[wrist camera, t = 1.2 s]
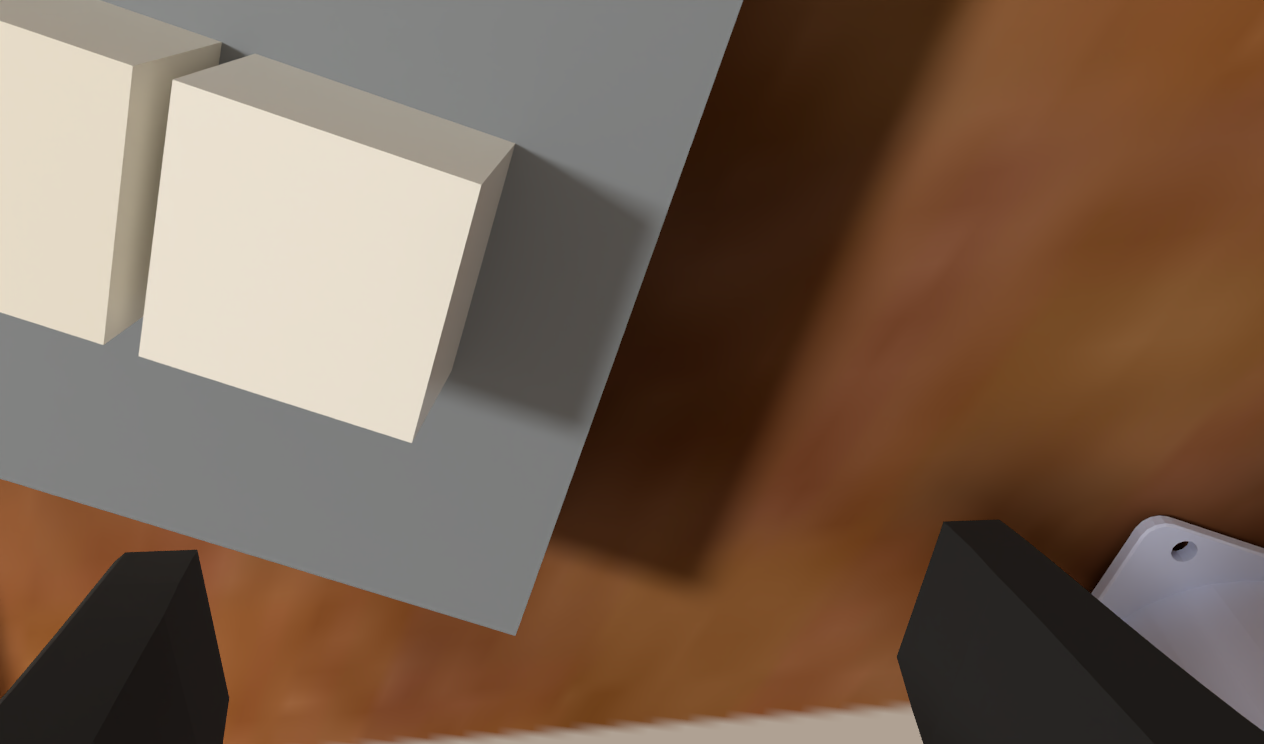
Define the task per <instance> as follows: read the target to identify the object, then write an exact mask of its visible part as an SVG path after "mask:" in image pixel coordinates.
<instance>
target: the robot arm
mask: <svg viewBox="0 0 1264 744" xmlns="http://www.w3.org/2000/svg"><path fill="white" fill-rule="evenodd" d="M1183 541H1189V542H1188V544H1187V545H1186V546H1185V547H1184V548H1183V549H1181V550H1177V551H1172V549H1173V547H1174V546H1175V545H1177V544H1178V543H1180V542H1183ZM897 659H898V663H899V666H900V669H901V673H902V676H903V680H904V683H905V686H906V690H907V693H908V697H909V700H910V704H911V707H912V710H913V713H914V716H915V719H916V722H917V725H918V728H919V732H920V734H921V737H922V741H923V744H1264V548H1261V547H1258V546H1255V545H1252V544H1249V543H1246V542H1243V541H1240V540H1237V539H1234V538H1231V537H1228V536H1225V535H1222V534H1219V533H1216V532H1213V531H1210V530H1207V529H1204V528H1201V527H1198V526H1195V525H1192V524H1189V523H1186V522H1183V521H1180V520H1177V519H1174V518H1171V517H1167V516H1160V515H1159V516H1154V517H1149V518H1148V519H1146V520H1144V521H1142V522H1141V523H1140V524H1139V525H1138V526H1137V527H1136V528H1135V529H1134V531H1133V532H1132V534H1131V535H1130V537H1129V538H1128V540H1127V541H1126V542H1125V544H1124V545H1123V547H1122V548H1121V550H1120V551H1119V553H1118V554H1117V556H1116V557H1115V559H1114V560H1113V562H1112V563H1111V565H1110V566H1109V568H1108V569H1107V571H1106V572H1105V574H1104V575H1103V577H1102V578H1101V580H1100V581H1099V583H1098V584H1097V586H1096V587H1095V589H1094V590H1093V592H1092V593H1089V592H1088V591H1087V590H1086V589H1085V588H1083V587H1082V586H1081V585H1080V584H1079V583H1077V582H1076V581H1075V580H1074V579H1073V578H1071V577H1070V576H1069V575H1068V574H1067V573H1065V572H1064V571H1063V570H1062V569H1061V568H1059V567H1058V566H1057V565H1056V564H1054V563H1053V562H1052V561H1051V560H1050V559H1048V558H1047V557H1046V556H1045V555H1044V554H1042V553H1041V552H1040V551H1039V550H1037V549H1036V548H1035V547H1034V546H1032V545H1031V544H1030V543H1029V542H1027V541H1026V540H1025V539H1024V538H1022V537H1021V536H1020V535H1019V534H1017V533H1016V532H1015V531H1013V530H1012V529H1011V528H1009V527H1008V526H1007V525H1005V524H1004V523H1003V522H1002V521H1000V520H976V521H950V522H943V525H942V528H941V531H940V534H939V537H938V540H937V543H936V545H935V548H934V551H933V554H932V557H931V560H930V563H929V566H928V569H927V571H926V574H925V577H924V580H923V583H922V586H921V589H920V592H919V594H918V597H917V600H916V603H915V606H914V609H913V612H912V615H911V618H910V620H909V623H908V626H907V629H906V632H905V635H904V638H903V641H902V643H901V646H900V649H899V652H898V655H897ZM228 702H229V695H228V691H227V686H226V681H225V677H224V672H223V667H222V663H221V658H220V654H219V649H218V644H217V640H216V635H215V630H214V626H213V621H212V616H211V612H210V607H209V602H208V598H207V593H206V588H205V584H204V579H203V575H202V570H201V565H200V561H199V556H198V551H197V550H180V551H154V552H127V553H124V554H123V555H122V556H121V557H120V558H118V559H117V560H116V561H115V562H114V563H113V564H112V566H111V567H110V568H109V569H108V570H107V572H106V573H105V574H104V575H103V577H102V578H101V579H100V580H99V582H98V583H97V584H96V585H95V586H94V588H93V589H92V590H91V591H90V593H89V594H88V595H87V596H86V598H85V599H84V600H83V601H82V603H81V604H80V605H79V606H78V607H77V609H76V610H75V611H74V612H73V614H72V615H71V616H70V617H69V618H68V620H67V621H66V622H65V623H64V625H63V626H62V627H61V628H60V629H59V631H58V632H57V633H56V634H55V636H54V637H53V638H52V639H51V640H50V642H49V643H48V644H47V645H46V646H45V648H44V649H43V650H42V651H41V652H40V654H39V655H38V656H37V657H36V658H35V659H34V661H33V662H32V663H31V664H30V665H29V667H28V668H27V669H26V670H25V671H24V673H23V674H22V675H21V676H20V677H19V679H18V680H17V681H16V682H15V683H14V684H13V686H12V687H11V688H10V689H9V690H8V691H7V693H6V694H5V695H4V696H3V697H2V698H1V699H0V744H223V737H224V730H225V723H226V716H227V709H228Z"/></svg>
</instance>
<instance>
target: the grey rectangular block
mask: <svg viewBox="0 0 1264 744" xmlns="http://www.w3.org/2000/svg"><path fill="white" fill-rule="evenodd" d="M101 1H104V2H107V3H110V4H113V5H116V6H119V7H122V8H124V9H127V10H130V11H133V12H136V13H139V14H142V15H145V16H148V17H151V18H153V19H156V20H159V21H162V22H165V23H168V24H171V25H174V26H177V27H179V28H182V29H185V30H188V31H191V32H194V33H197V34H200V35H203V36H206V37H208V38H211V39H214V40H217V41H220V42H222V45H221V52H220V59H219V65H221V64H224V63H227V62H230V61H233V60H237V59H240V58H243V57H246V56H249V55H252V54H258V55H261V56H264V57H266V58H269V59H272V60H275V61H278V62H281V63H284V64H287V65H290V66H292V67H295V68H298V69H301V70H304V71H307V72H310V73H313V74H316V75H319V76H321V77H324V78H327V79H330V80H333V81H336V82H339V83H342V84H345V85H348V86H350V87H353V88H356V89H359V90H362V91H365V92H368V93H371V94H374V95H377V96H379V97H382V98H385V99H388V100H391V101H394V102H397V103H400V104H403V105H405V106H408V107H411V108H414V109H417V110H420V111H423V112H426V113H429V114H432V115H434V116H437V117H440V118H443V119H446V120H449V121H452V122H455V123H458V124H461V125H463V126H466V127H469V128H472V129H475V130H478V131H481V132H484V133H487V134H490V135H492V136H495V137H498V138H501V139H504V140H507V141H510V142H513V143H515V146H514V150H513V153H512V157H511V161H510V164H509V168H508V171H507V175H506V178H505V182H504V186H503V189H502V193H501V196H500V200H499V203H498V207H497V211H496V214H495V218H494V221H493V225H492V228H491V232H490V236H489V239H488V243H487V246H486V250H485V253H484V257H483V261H482V264H481V268H480V271H479V275H478V278H477V282H476V286H475V289H474V293H473V296H472V300H471V304H470V307H469V311H468V314H467V318H466V321H465V325H464V329H463V332H462V336H461V339H460V343H459V346H458V350H457V354H456V357H455V361H454V364H453V368H452V371H451V373H450V375H449V376H448V378H447V380H446V382H445V384H444V386H443V387H442V389H441V391H440V393H439V395H438V396H437V398H436V400H435V402H434V404H433V406H432V407H431V409H430V411H429V413H428V415H427V416H426V418H425V420H424V422H423V424H422V426H421V427H420V429H419V431H418V433H417V435H416V436H415V438H414V440H413V442H412V443H410V442H406V441H403V440H400V439H397V438H394V437H391V436H388V435H384V434H381V433H378V432H375V431H372V430H369V429H366V428H362V427H359V426H356V425H353V424H350V423H347V422H344V421H340V420H337V419H334V418H331V417H328V416H325V415H322V414H318V413H315V412H312V411H309V410H306V409H303V408H300V407H296V406H293V405H290V404H287V403H284V402H281V401H278V400H274V399H271V398H268V397H265V396H262V395H259V394H256V393H252V392H249V391H246V390H243V389H240V388H237V387H234V386H230V385H227V384H224V383H221V382H218V381H215V380H212V379H208V378H205V377H202V376H199V375H196V374H193V373H190V372H186V371H183V370H180V369H177V368H174V367H171V366H168V365H164V364H161V363H158V362H155V361H152V360H149V359H146V358H142V357H139V348H140V340H141V332H142V323H143V317H142V318H140V319H139V320H138V321H136V322H135V323H133V324H132V325H131V326H129V327H128V328H126V329H125V330H124V331H122V332H121V333H120V334H118V335H117V336H115V337H114V338H113V339H111V340H110V341H108V342H107V343H106V344H104V345H102V344H98V343H95V342H92V341H89V340H86V339H83V338H80V337H76V336H73V335H70V334H67V333H64V332H61V331H58V330H54V329H51V328H48V327H45V326H42V325H39V324H36V323H32V322H29V321H26V320H23V319H20V318H17V317H14V316H10V315H7V314H4V313H1V312H0V479H3V480H6V481H10V482H13V483H16V484H20V485H23V486H26V487H29V488H33V489H36V490H39V491H42V492H46V493H49V494H52V495H56V496H59V497H62V498H65V499H69V500H72V501H75V502H78V503H82V504H85V505H88V506H92V507H95V508H98V509H101V510H105V511H108V512H111V513H115V514H118V515H121V516H124V517H128V518H131V519H134V520H137V521H141V522H144V523H147V524H151V525H154V526H157V527H160V528H164V529H167V530H170V531H174V532H177V533H180V534H183V535H187V536H190V537H193V538H196V539H200V540H203V541H206V542H210V543H213V544H216V545H219V546H223V547H226V548H229V549H233V550H236V551H239V552H242V553H246V554H249V555H252V556H255V557H259V558H262V559H265V560H269V561H272V562H275V563H278V564H282V565H285V566H288V567H291V568H295V569H298V570H301V571H305V572H308V573H311V574H314V575H318V576H321V577H324V578H328V579H331V580H334V581H337V582H341V583H344V584H347V585H350V586H354V587H357V588H360V589H364V590H367V591H370V592H373V593H377V594H380V595H383V596H387V597H390V598H393V599H396V600H400V601H403V602H406V603H409V604H413V605H416V606H419V607H423V608H426V609H429V610H432V611H436V612H439V613H442V614H446V615H449V616H452V617H455V618H459V619H462V620H465V621H468V622H472V623H475V624H478V625H482V626H485V627H488V628H491V629H495V630H498V631H501V632H504V633H508V634H511V635H514V636H515V635H516V633H517V630H518V627H519V624H520V621H521V619H522V616H523V613H524V610H525V608H526V605H527V602H528V599H529V596H530V594H531V591H532V588H533V585H534V582H535V580H536V577H537V574H538V571H539V568H540V566H541V563H542V560H543V557H544V555H545V552H546V549H547V546H548V543H549V541H550V538H551V535H552V532H553V529H554V527H555V524H556V521H557V518H558V515H559V513H560V510H561V507H562V504H563V502H564V499H565V496H566V493H567V490H568V488H569V485H570V482H571V479H572V476H573V474H574V471H575V468H576V465H577V462H578V460H579V457H580V454H581V451H582V449H583V446H584V443H585V440H586V437H587V435H588V432H589V429H590V426H591V423H592V421H593V418H594V415H595V412H596V409H597V407H598V404H599V401H600V398H601V396H602V393H603V390H604V387H605V384H606V382H607V379H608V376H609V373H610V370H611V368H612V365H613V362H614V359H615V356H616V354H617V351H618V348H619V345H620V343H621V340H622V337H623V334H624V331H625V329H626V326H627V323H628V320H629V317H630V315H631V312H632V309H633V306H634V303H635V301H636V298H637V295H638V292H639V290H640V287H641V284H642V281H643V278H644V276H645V273H646V270H647V267H648V264H649V262H650V259H651V256H652V253H653V250H654V248H655V245H656V242H657V239H658V237H659V234H660V231H661V228H662V225H663V223H664V220H665V217H666V214H667V211H668V209H669V206H670V203H671V200H672V197H673V195H674V192H675V189H676V186H677V184H678V181H679V178H680V175H681V172H682V170H683V167H684V164H685V161H686V158H687V156H688V153H689V150H690V147H691V144H692V142H693V139H694V136H695V133H696V131H697V128H698V125H699V122H700V119H701V117H702V114H703V111H704V108H705V105H706V103H707V100H708V97H709V94H710V91H711V89H712V86H713V83H714V80H715V78H716V75H717V72H718V69H719V66H720V64H721V61H722V58H723V55H724V52H725V50H726V47H727V44H728V41H729V38H730V36H731V33H732V30H733V27H734V25H735V22H736V19H737V16H738V13H739V11H740V8H741V5H742V2H743V0H101Z"/></svg>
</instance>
